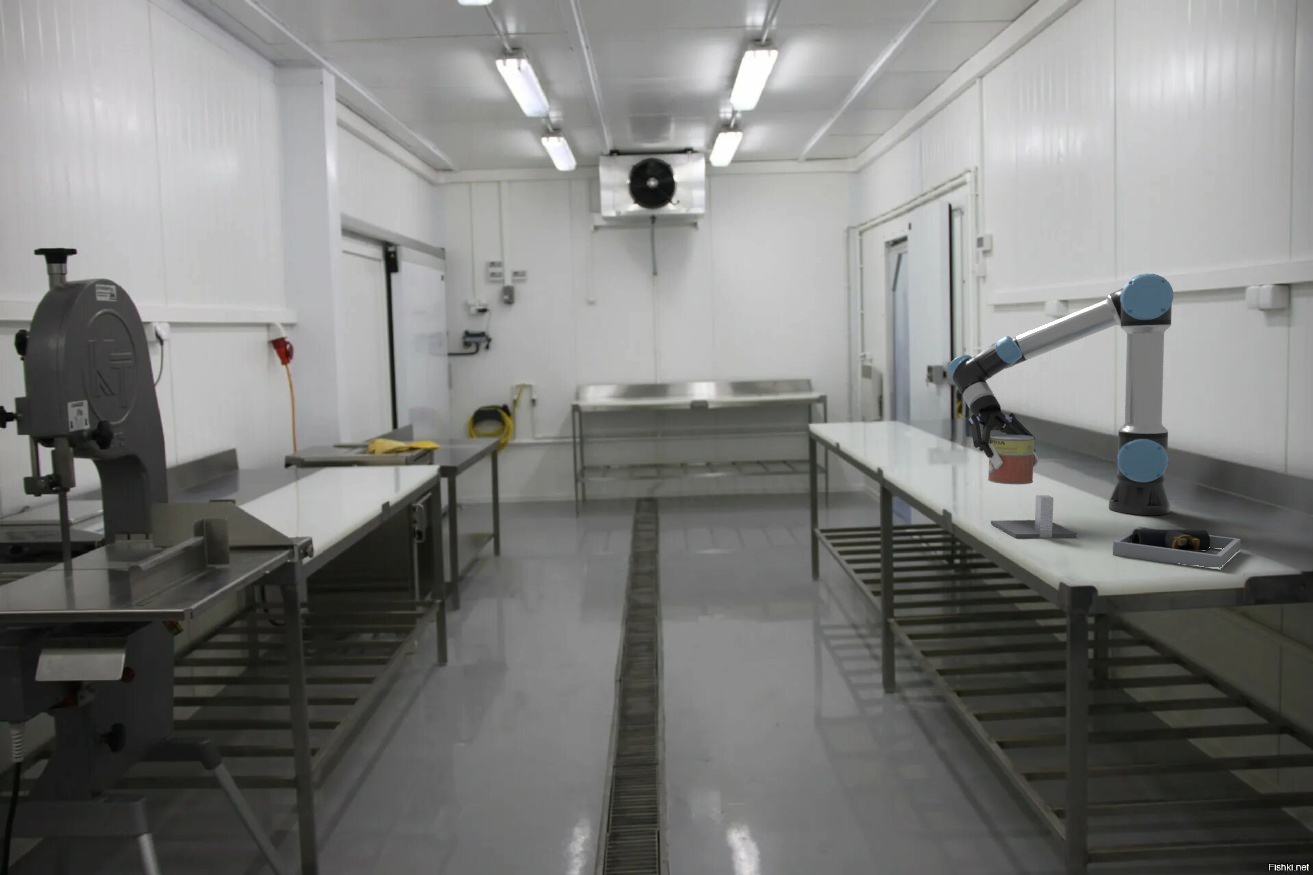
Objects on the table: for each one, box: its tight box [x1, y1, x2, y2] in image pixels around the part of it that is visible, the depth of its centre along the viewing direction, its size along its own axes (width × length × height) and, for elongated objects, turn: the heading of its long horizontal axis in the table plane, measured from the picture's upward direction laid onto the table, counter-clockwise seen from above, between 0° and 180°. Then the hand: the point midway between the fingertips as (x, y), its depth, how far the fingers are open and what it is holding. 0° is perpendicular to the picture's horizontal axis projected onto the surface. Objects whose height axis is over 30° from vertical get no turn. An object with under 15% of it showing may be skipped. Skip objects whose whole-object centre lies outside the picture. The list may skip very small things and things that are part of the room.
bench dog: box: [1034, 494, 1054, 539], centre depth 223 cm, size 3×3×10 cm
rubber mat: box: [990, 519, 1077, 539], centre depth 230 cm, size 16×15×1 cm
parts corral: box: [1112, 526, 1241, 568], centre depth 205 cm, size 21×21×3 cm
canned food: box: [987, 433, 1036, 485], centre depth 243 cm, size 11×11×12 cm
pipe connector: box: [1132, 528, 1210, 552], centre depth 205 cm, size 12×5×15 cm
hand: (1018, 464), depth 240 cm, fingers closed on canned food, 11 cm apart
